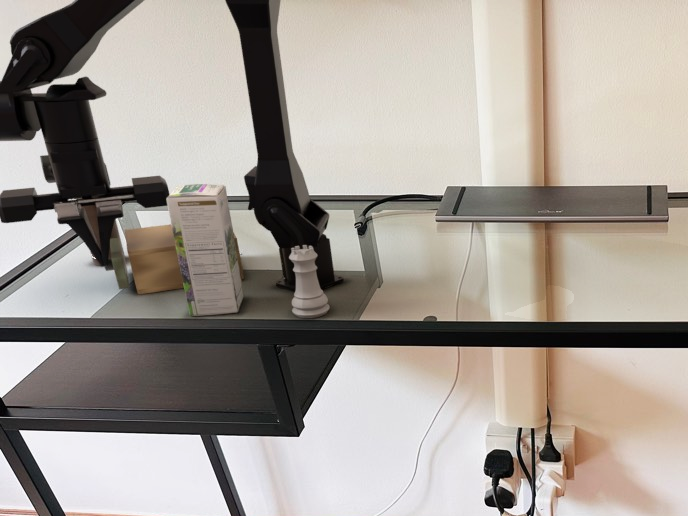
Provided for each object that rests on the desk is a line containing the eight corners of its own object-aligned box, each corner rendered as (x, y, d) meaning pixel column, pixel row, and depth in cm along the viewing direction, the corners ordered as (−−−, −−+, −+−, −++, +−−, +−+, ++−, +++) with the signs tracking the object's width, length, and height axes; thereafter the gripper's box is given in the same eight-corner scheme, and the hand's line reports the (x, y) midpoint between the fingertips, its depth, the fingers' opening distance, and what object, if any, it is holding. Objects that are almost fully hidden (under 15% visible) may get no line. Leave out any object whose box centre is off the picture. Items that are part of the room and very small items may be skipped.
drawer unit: (138, 294, 106) (127, 251, 104) (134, 269, 115) (124, 229, 113) (244, 279, 111) (236, 237, 109) (233, 256, 120) (225, 217, 118)
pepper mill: (129, 262, 118) (109, 184, 113) (97, 268, 116) (76, 189, 111) (121, 255, 121) (102, 179, 116) (90, 260, 119) (69, 183, 114)
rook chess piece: (320, 320, 98) (311, 255, 94) (285, 317, 99) (275, 252, 95) (336, 307, 102) (328, 243, 98) (302, 304, 102) (293, 241, 99)
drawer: (108, 291, 105) (100, 260, 103) (107, 269, 113) (100, 239, 111) (220, 275, 110) (214, 245, 108) (211, 255, 118) (205, 227, 116)
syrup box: (197, 300, 104) (172, 184, 97) (246, 297, 105) (225, 182, 98) (189, 317, 99) (162, 196, 92) (240, 313, 100) (217, 193, 93)
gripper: (151, 124, 109) (177, 240, 116) (-12, 135, 101) (25, 258, 109) (157, 137, 100) (184, 261, 107) (-22, 151, 93) (20, 283, 100)
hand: (104, 265), depth 106 cm, fingers closed
